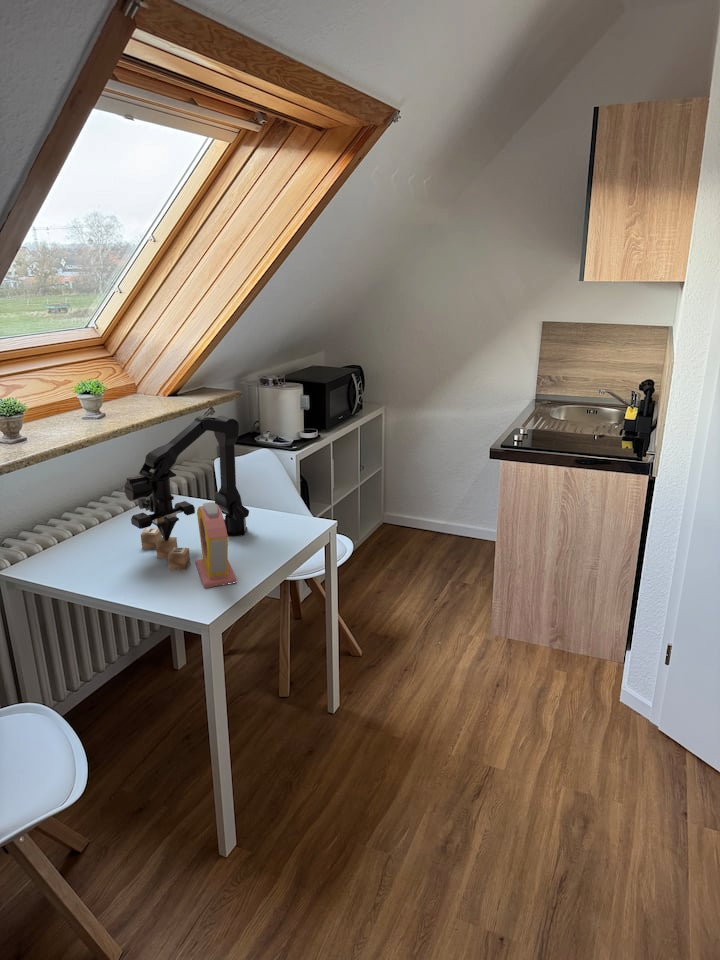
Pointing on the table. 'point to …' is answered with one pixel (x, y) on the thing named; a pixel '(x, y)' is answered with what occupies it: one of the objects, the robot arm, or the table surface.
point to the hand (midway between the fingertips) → (166, 540)
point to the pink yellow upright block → (213, 547)
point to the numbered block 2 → (178, 558)
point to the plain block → (165, 546)
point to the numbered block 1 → (150, 538)
